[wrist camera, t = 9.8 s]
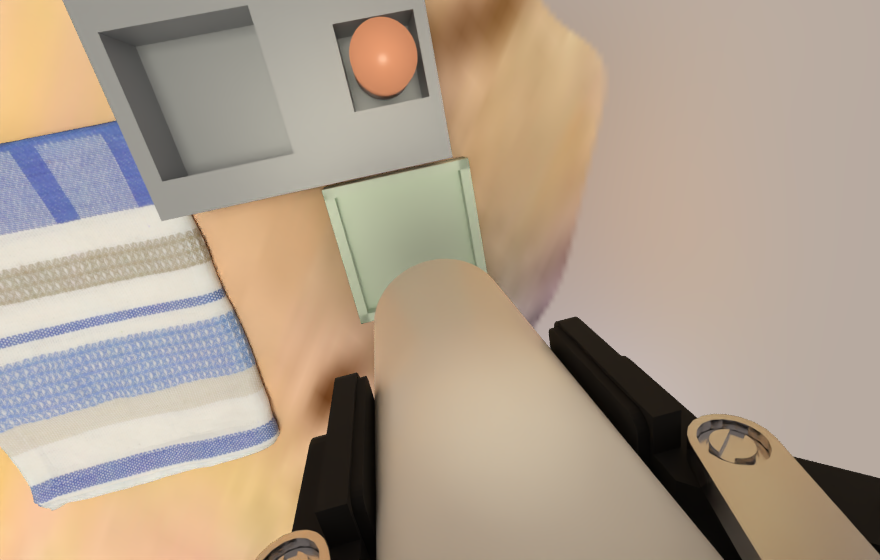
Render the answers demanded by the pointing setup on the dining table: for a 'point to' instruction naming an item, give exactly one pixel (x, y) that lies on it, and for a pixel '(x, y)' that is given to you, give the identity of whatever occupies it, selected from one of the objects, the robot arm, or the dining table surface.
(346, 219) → the tray
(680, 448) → the robot arm
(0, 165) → the dish towel
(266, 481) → the dining table surface
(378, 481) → the cylinder
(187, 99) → the housing
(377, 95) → the plunger
